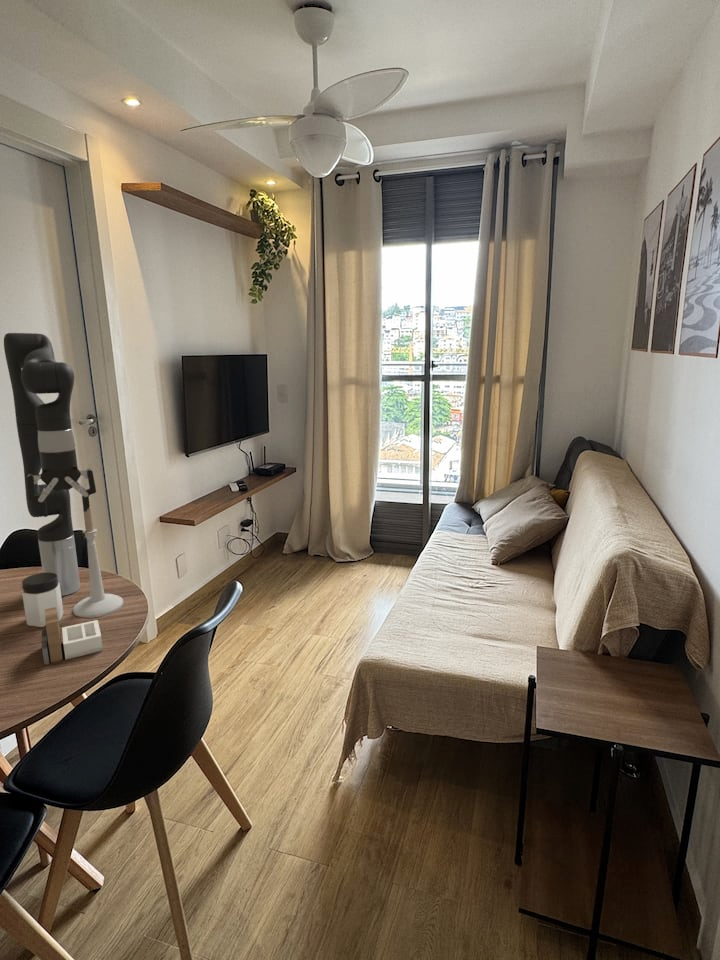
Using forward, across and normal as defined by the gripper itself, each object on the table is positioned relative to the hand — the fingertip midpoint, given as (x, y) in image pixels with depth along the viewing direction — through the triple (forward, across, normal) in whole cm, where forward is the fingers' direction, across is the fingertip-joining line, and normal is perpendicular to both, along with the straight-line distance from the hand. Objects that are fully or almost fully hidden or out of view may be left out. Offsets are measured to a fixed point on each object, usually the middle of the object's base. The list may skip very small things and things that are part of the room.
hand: (65, 513), depth 130 cm
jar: (+32, +8, -12) cm, 35 cm away
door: (+32, +6, +8) cm, 34 cm away
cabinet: (+32, +2, +8) cm, 33 cm away
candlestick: (+32, -5, -13) cm, 35 cm away
